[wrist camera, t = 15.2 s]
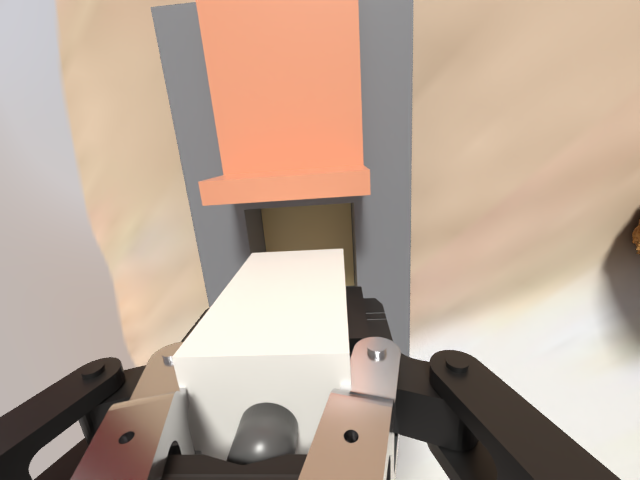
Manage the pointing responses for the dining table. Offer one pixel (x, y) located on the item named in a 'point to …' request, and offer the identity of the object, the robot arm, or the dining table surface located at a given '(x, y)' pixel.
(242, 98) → the shutter
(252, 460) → the plug
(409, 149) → the socket block
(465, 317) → the dining table surface
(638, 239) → the stuffed squirrel
